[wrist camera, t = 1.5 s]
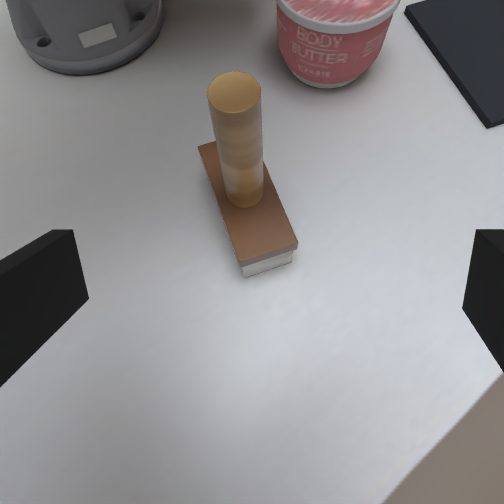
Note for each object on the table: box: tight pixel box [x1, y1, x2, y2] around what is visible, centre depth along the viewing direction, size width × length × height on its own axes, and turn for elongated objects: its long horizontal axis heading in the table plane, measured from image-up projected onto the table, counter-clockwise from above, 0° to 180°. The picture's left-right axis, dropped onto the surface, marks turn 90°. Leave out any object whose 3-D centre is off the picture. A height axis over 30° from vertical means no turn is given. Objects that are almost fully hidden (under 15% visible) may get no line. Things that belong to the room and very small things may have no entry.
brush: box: [198, 71, 298, 278], centre depth 28 cm, size 10×4×14 cm, turn 19°
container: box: [276, 0, 400, 88], centre depth 37 cm, size 10×10×8 cm
